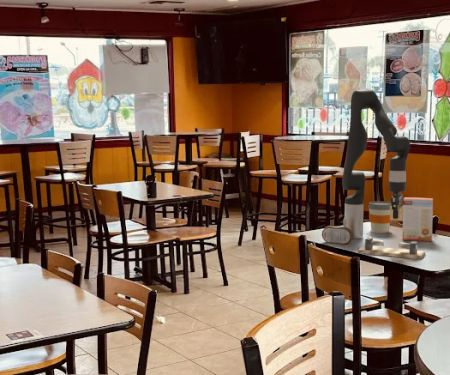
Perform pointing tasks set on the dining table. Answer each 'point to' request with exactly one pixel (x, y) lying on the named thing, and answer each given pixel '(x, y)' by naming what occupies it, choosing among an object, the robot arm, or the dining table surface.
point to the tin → (337, 235)
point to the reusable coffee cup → (379, 216)
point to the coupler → (400, 213)
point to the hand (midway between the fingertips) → (396, 217)
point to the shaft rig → (391, 249)
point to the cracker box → (417, 219)
